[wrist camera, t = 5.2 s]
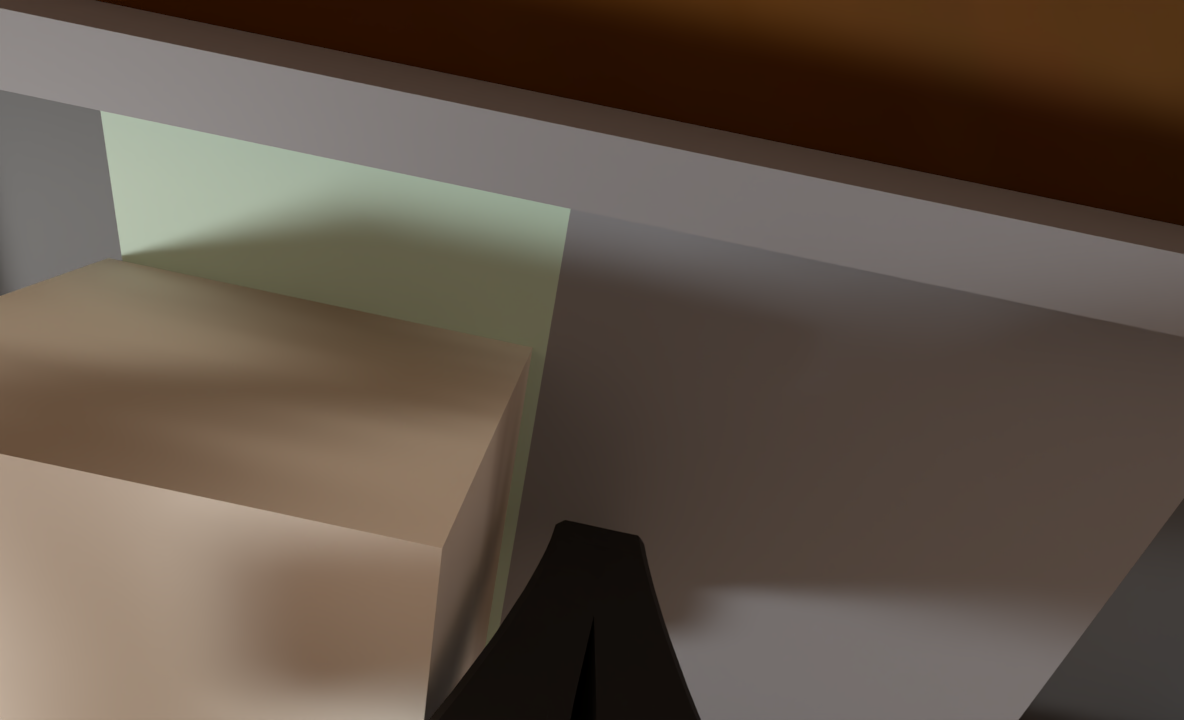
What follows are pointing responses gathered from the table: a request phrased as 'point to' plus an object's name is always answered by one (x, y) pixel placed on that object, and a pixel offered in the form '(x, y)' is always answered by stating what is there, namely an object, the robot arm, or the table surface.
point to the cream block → (243, 501)
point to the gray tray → (687, 351)
